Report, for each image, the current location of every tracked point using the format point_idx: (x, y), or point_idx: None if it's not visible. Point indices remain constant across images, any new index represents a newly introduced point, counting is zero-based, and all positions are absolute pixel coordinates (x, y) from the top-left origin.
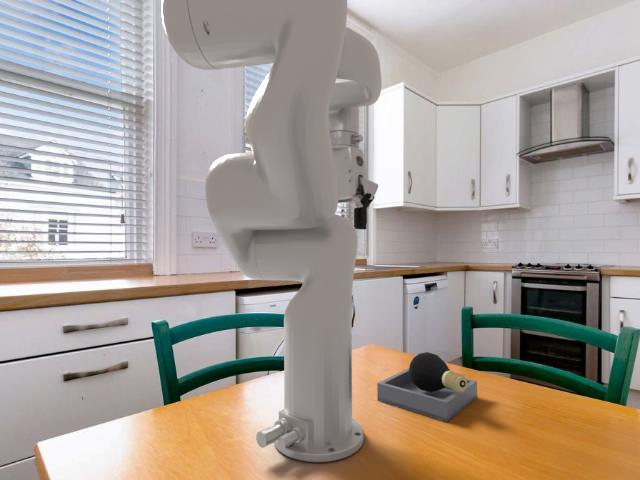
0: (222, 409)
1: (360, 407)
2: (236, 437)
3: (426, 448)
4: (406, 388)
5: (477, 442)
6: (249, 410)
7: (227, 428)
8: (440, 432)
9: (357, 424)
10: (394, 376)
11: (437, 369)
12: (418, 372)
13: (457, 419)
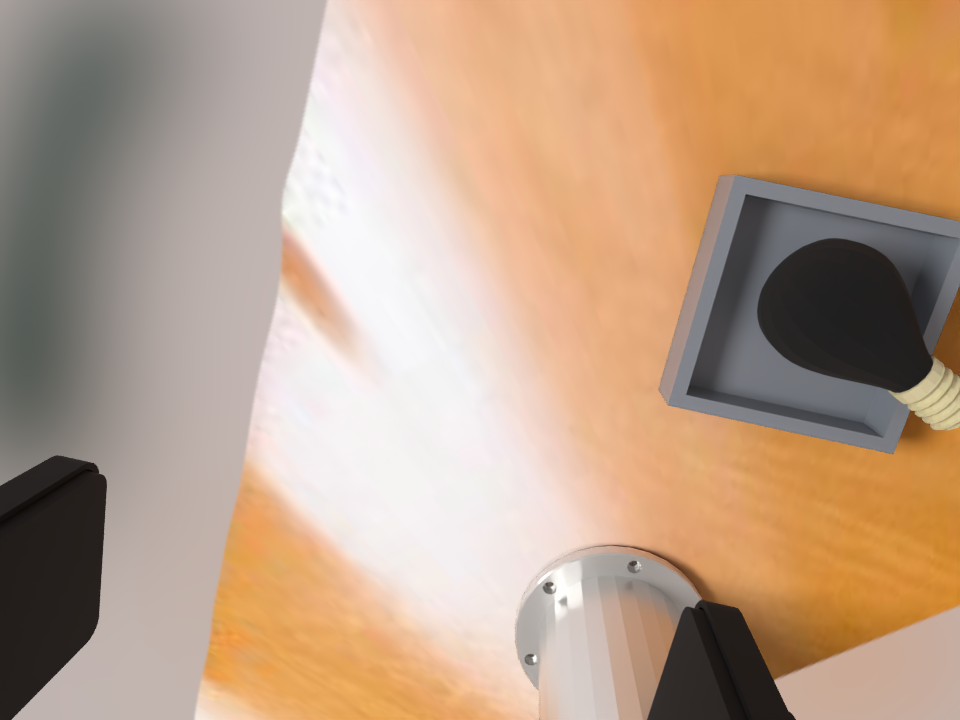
0: (331, 610)
1: (631, 451)
2: (456, 689)
3: (835, 569)
4: (724, 285)
5: (943, 498)
6: (390, 587)
7: (413, 670)
8: (856, 490)
9: (681, 585)
10: (700, 320)
11: (887, 379)
12: (809, 369)
13: None
